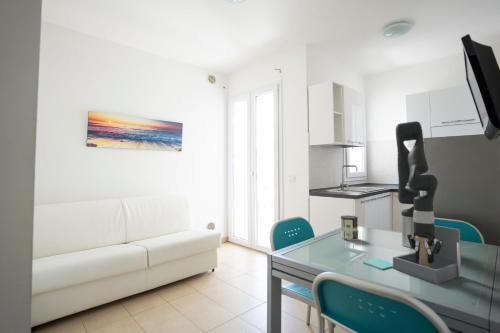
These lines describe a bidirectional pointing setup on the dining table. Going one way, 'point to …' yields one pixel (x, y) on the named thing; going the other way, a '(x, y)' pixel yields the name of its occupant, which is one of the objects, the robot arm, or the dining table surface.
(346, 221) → the coffee can
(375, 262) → the pad
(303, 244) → the dining table surface
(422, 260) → the handle
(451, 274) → the case
